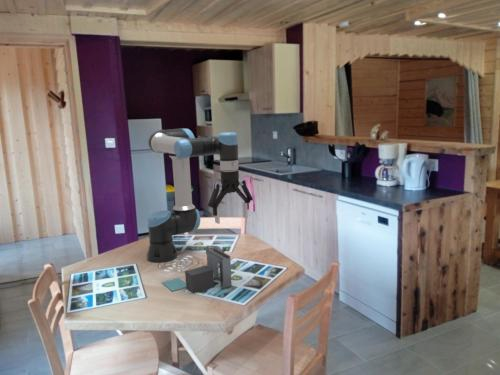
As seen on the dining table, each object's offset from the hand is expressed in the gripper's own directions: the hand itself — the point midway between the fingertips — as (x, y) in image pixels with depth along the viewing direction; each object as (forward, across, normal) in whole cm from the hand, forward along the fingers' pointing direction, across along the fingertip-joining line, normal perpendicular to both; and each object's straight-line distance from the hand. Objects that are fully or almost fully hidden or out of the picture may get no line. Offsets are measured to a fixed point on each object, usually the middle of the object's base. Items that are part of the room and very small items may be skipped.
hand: (231, 220), depth 174 cm
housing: (+28, -5, +4) cm, 28 cm away
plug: (+28, -15, +3) cm, 32 cm away
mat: (+28, -22, +12) cm, 38 cm away
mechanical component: (+28, +2, +20) cm, 34 cm away
